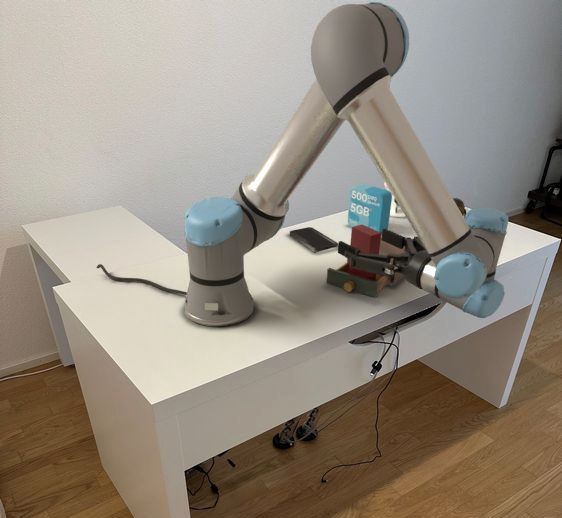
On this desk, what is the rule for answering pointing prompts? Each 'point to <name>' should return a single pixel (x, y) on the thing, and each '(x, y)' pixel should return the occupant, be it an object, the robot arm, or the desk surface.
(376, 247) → the card box
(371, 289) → the drawer
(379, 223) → the data package
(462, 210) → the vintage travel clock
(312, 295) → the desk surface
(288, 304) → the desk surface
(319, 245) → the phone
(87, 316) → the desk surface
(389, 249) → the box
